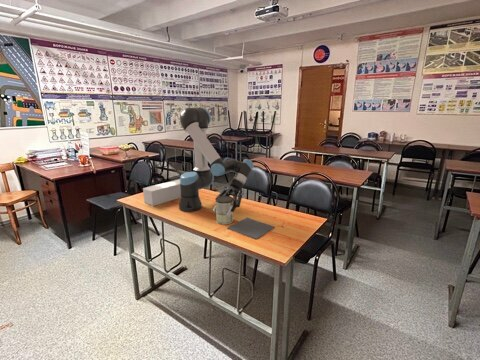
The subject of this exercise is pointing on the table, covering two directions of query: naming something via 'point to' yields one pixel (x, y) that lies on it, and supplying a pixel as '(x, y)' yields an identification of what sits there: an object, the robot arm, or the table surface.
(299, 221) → the table surface
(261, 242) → the table surface
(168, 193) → the long grey foam block
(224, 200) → the coffee can
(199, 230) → the table surface
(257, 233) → the rubber mat
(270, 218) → the table surface
